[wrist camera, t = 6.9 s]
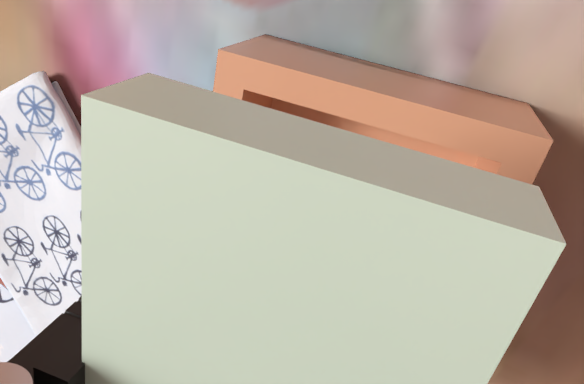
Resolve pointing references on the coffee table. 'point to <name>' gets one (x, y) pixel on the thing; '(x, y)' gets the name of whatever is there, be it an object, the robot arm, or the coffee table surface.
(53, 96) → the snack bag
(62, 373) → the robot arm
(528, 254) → the lid
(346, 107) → the salmon open box
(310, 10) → the coffee table surface
